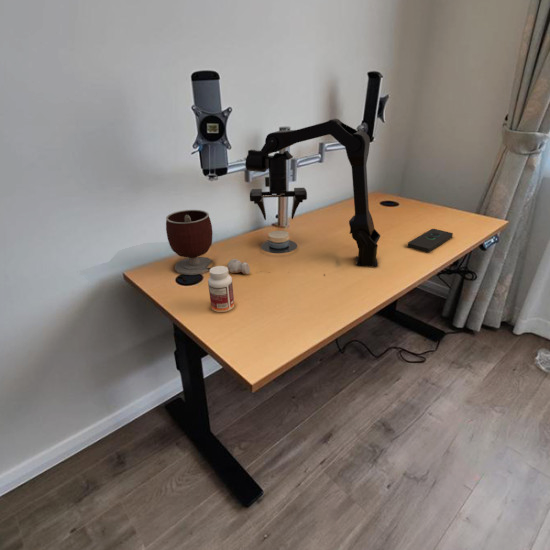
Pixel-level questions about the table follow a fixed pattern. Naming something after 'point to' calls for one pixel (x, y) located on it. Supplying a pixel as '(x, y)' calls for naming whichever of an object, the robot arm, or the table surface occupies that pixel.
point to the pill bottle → (221, 289)
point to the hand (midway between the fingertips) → (278, 219)
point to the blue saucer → (278, 244)
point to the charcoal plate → (289, 248)
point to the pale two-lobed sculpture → (238, 266)
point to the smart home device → (430, 240)
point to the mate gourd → (190, 239)
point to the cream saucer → (279, 236)
